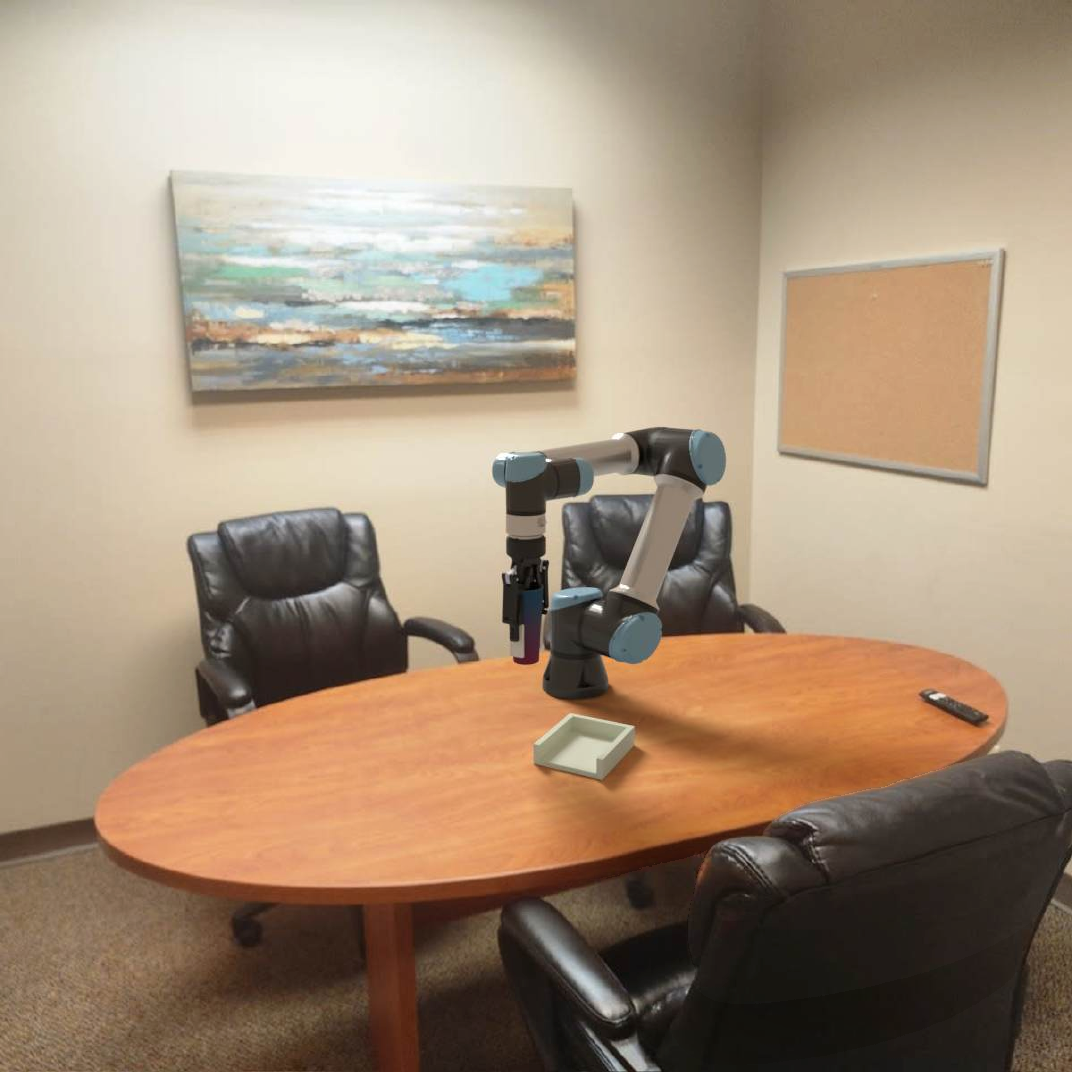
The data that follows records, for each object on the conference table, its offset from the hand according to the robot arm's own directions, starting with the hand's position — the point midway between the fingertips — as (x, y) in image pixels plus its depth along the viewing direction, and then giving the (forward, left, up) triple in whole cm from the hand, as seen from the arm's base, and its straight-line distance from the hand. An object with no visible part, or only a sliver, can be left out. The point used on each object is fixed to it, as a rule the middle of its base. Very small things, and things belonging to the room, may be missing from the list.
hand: (526, 651), depth 172 cm
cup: (0, 0, -2) cm, 2 cm away
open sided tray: (+13, 0, -19) cm, 23 cm away
